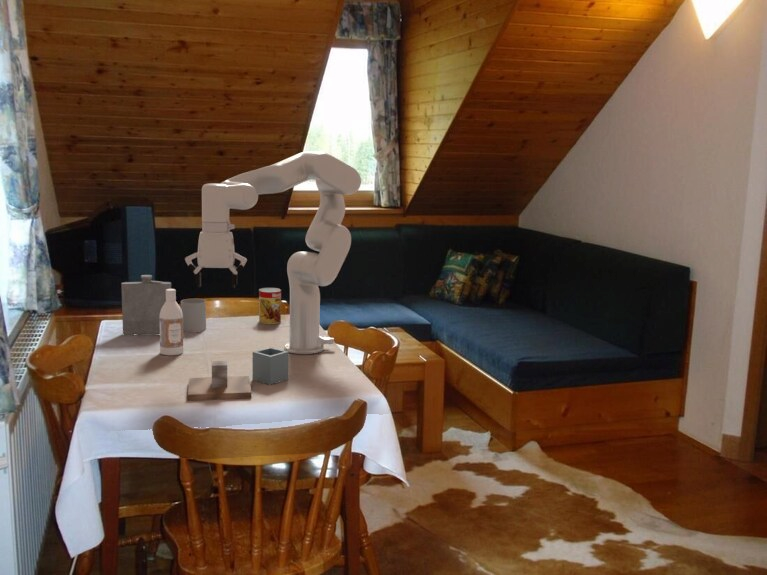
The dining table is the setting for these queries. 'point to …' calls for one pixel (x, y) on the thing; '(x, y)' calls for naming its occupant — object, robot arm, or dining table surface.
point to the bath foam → (171, 326)
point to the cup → (194, 315)
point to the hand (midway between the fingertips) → (216, 287)
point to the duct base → (219, 393)
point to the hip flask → (143, 305)
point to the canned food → (269, 305)
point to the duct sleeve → (270, 365)
